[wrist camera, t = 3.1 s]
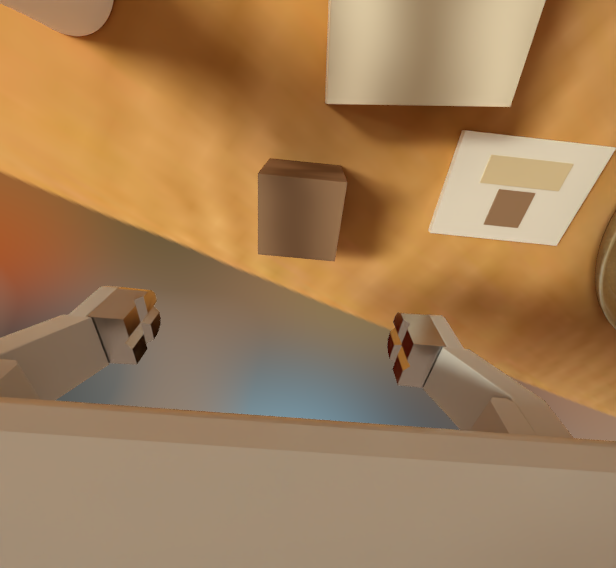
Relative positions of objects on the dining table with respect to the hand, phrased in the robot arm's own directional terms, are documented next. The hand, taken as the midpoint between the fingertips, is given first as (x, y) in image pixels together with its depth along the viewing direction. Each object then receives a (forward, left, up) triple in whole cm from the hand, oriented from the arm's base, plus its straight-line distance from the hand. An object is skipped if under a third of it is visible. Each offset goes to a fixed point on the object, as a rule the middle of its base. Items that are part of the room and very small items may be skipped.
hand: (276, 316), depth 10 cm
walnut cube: (0, 0, -14) cm, 14 cm away
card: (-15, -2, -14) cm, 21 cm away
